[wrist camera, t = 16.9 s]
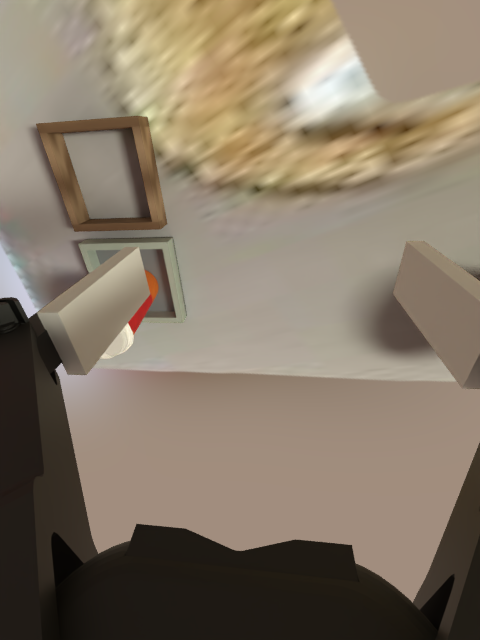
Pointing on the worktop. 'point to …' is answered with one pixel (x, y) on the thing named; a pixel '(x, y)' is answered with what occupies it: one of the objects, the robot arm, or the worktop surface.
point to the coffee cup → (133, 322)
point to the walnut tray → (69, 183)
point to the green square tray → (155, 260)
